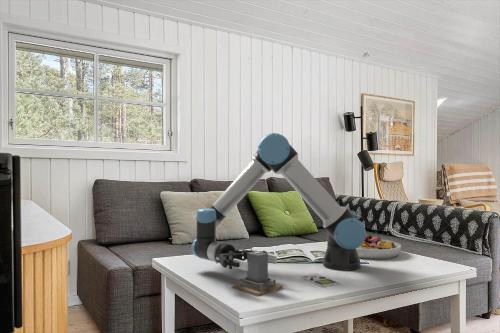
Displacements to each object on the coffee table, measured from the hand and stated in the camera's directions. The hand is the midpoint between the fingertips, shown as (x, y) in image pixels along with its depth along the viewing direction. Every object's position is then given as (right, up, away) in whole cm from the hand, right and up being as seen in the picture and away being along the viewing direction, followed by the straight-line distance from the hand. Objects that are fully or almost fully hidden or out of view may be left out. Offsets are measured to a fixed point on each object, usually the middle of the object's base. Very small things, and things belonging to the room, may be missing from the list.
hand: (262, 263), depth 134 cm
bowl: (+52, -10, +59) cm, 79 cm away
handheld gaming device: (+21, -10, +12) cm, 26 cm away
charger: (-2, -8, +2) cm, 8 cm away
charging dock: (-2, -9, +2) cm, 9 cm away
